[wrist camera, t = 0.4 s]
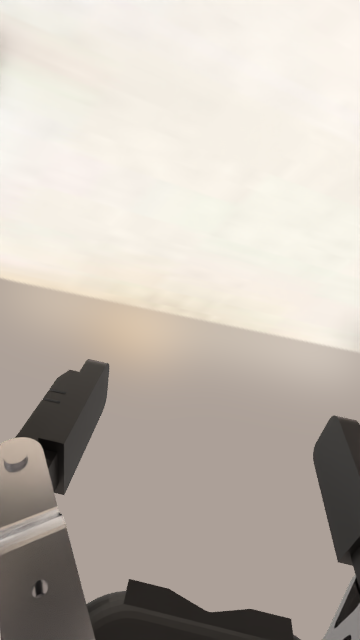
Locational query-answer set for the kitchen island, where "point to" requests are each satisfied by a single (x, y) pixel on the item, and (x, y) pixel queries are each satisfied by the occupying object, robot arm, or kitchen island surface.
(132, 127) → the kitchen island surface
